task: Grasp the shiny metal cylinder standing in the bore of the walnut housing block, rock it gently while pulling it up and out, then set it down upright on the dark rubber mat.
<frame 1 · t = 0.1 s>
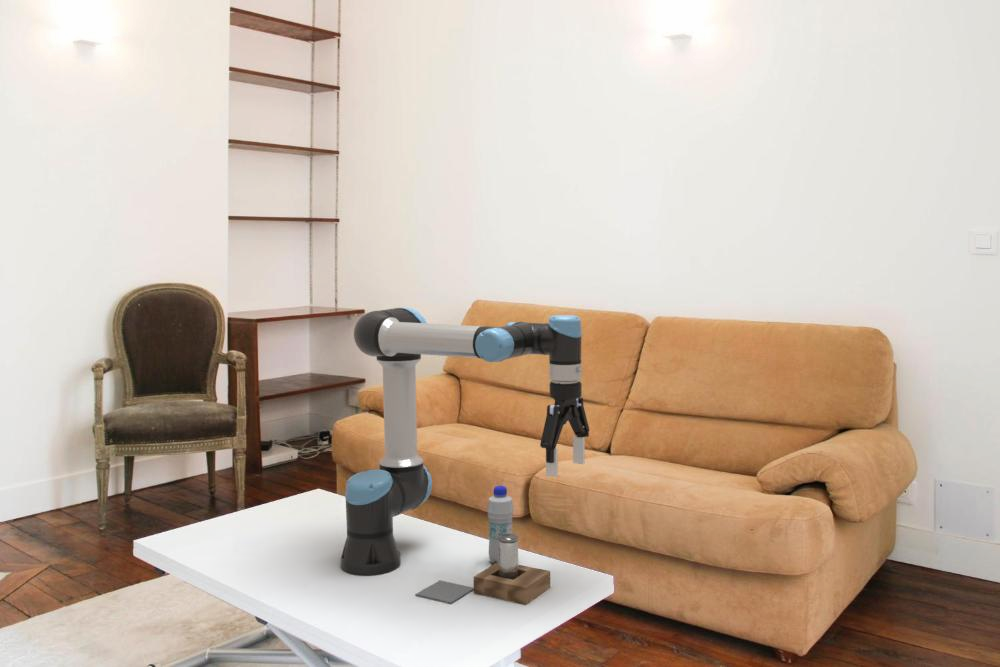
hand: (565, 469, 218), 28 cm above the table, fingers open, 13 cm apart
mat: (445, 592, 215), on the table
bottle: (501, 562, 235), on the table
shiny metal cylinder: (508, 589, 217), resting in housing
housing: (512, 590, 217), on the table
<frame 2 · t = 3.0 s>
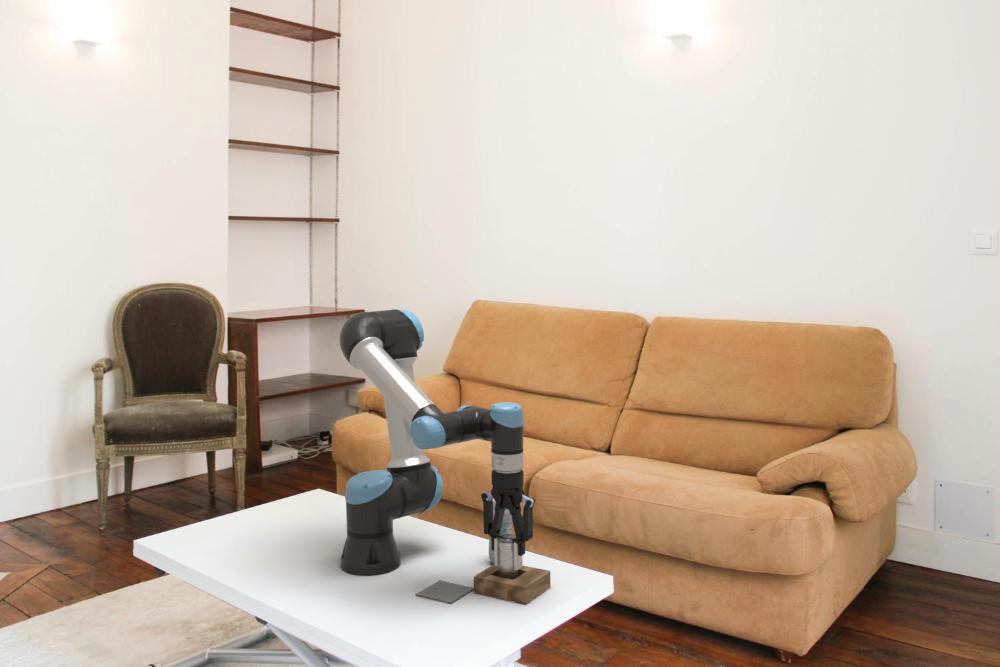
hand: (508, 565, 216), 6 cm above the table, fingers closed on shiny metal cylinder, 5 cm apart
shiny metal cylinder: (508, 589, 217), resting in housing, touching gripper
everything else where it was.
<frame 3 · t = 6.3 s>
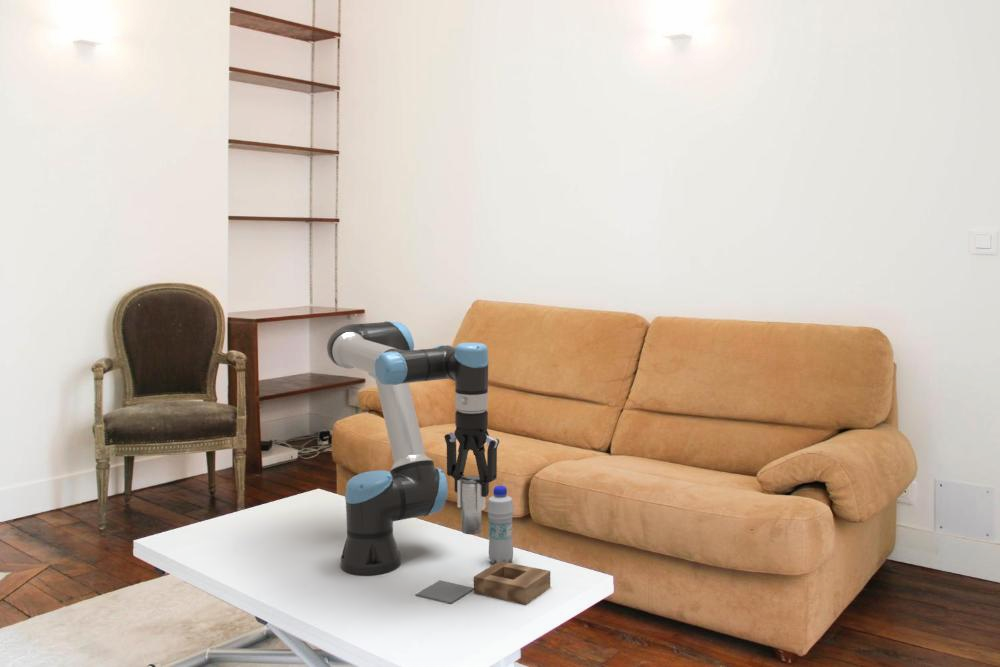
hand: (471, 507, 215), 20 cm above the table, fingers closed on shiny metal cylinder, 5 cm apart
shiny metal cylinder: (471, 531, 216), point 14 cm above the table, touching gripper
everything else where it was.
when the fingers open (8 cm above the table, at t = 9.4 s): shiny metal cylinder drops 1 cm, resting on mat.
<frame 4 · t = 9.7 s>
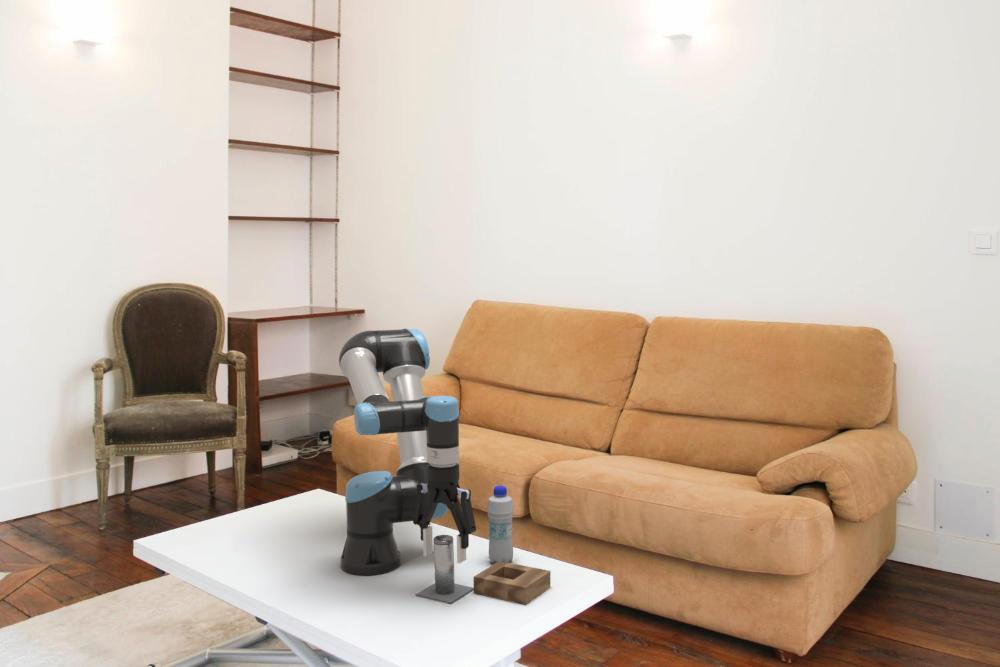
hand: (444, 557, 215), 8 cm above the table, fingers open, 9 cm apart
shiny metal cylinder: (445, 590, 215), resting on mat
everything else where it was.
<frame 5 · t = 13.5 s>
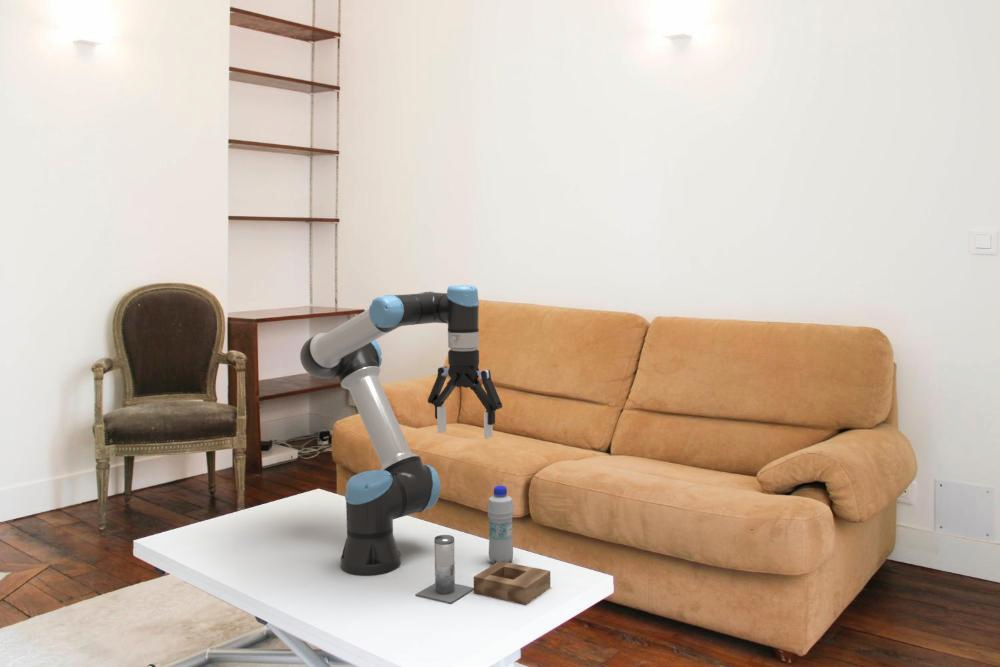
hand: (464, 434, 225), 35 cm above the table, fingers open, 13 cm apart
nothing on the table moved.
at the end: shiny metal cylinder inside the target area (0.0 cm from its centre), resting on mat; shiny metal cylinder tilted 0°; the gripper is holding nothing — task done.
